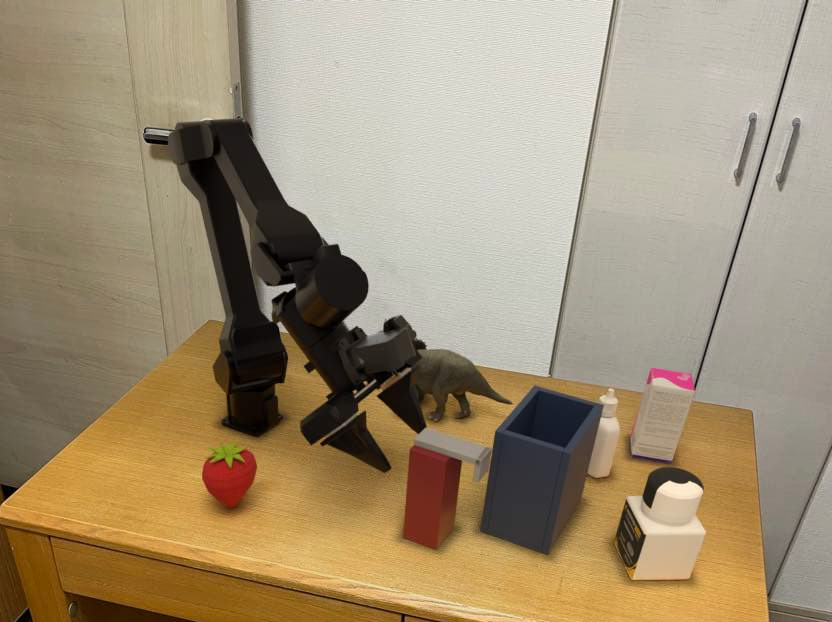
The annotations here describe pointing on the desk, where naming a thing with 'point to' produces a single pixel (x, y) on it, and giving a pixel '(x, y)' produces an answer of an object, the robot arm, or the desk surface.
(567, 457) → the storage box
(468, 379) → the toy dinosaur
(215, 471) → the strawberry
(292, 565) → the desk surface
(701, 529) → the medicine bottle
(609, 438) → the eye dropper bottle
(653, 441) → the supplement box
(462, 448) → the red post with hook
